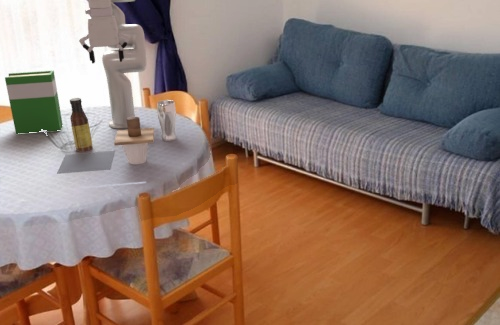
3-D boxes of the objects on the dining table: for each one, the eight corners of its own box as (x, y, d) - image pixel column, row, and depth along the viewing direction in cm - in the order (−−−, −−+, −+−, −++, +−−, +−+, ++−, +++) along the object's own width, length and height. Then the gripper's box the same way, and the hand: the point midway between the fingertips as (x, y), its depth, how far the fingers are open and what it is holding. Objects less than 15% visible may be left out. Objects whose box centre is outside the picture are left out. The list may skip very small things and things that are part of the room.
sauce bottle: (96, 148, 220) (89, 97, 213) (85, 153, 215) (77, 102, 208) (82, 145, 223) (75, 96, 215) (71, 151, 218) (63, 100, 210)
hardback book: (16, 134, 238) (4, 77, 229) (19, 129, 245) (8, 73, 236) (60, 131, 240) (50, 74, 231) (62, 125, 247) (53, 70, 238)
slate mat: (65, 155, 214) (65, 154, 214) (115, 151, 216) (115, 150, 215) (56, 174, 197) (56, 173, 197) (110, 170, 199) (110, 169, 199)
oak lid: (117, 132, 207) (115, 114, 205) (154, 130, 209) (152, 111, 206) (114, 145, 195) (112, 125, 193) (153, 142, 197) (151, 123, 194)
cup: (127, 169, 199) (124, 144, 196) (119, 160, 208) (116, 136, 204) (155, 163, 204) (152, 139, 200) (146, 154, 212) (143, 131, 208)
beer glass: (179, 136, 230) (176, 99, 224) (175, 142, 223) (172, 104, 218) (162, 136, 230) (159, 99, 225) (158, 142, 224) (154, 104, 218)
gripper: (73, 15, 195) (81, 65, 201) (125, 12, 197) (131, 62, 203) (77, 12, 202) (84, 61, 208) (127, 10, 204) (132, 58, 210)
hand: (107, 61), depth 206 cm, fingers open, 9 cm apart
